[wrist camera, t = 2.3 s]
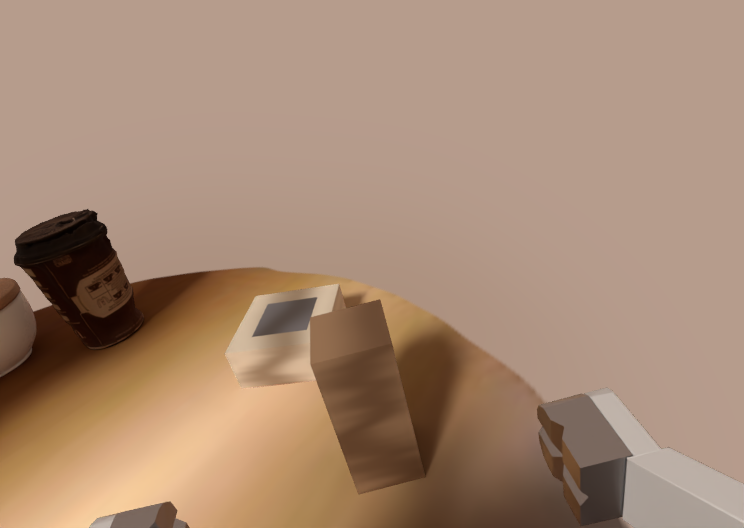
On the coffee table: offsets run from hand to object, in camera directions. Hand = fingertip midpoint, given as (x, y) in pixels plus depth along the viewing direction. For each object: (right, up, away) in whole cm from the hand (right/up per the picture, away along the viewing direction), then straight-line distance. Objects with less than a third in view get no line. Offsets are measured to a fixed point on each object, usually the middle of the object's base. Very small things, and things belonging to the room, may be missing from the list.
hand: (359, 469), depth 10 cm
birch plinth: (-6, -3, +30) cm, 30 cm away
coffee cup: (-27, -3, +40) cm, 48 cm away
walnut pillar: (+1, -7, +18) cm, 20 cm away
